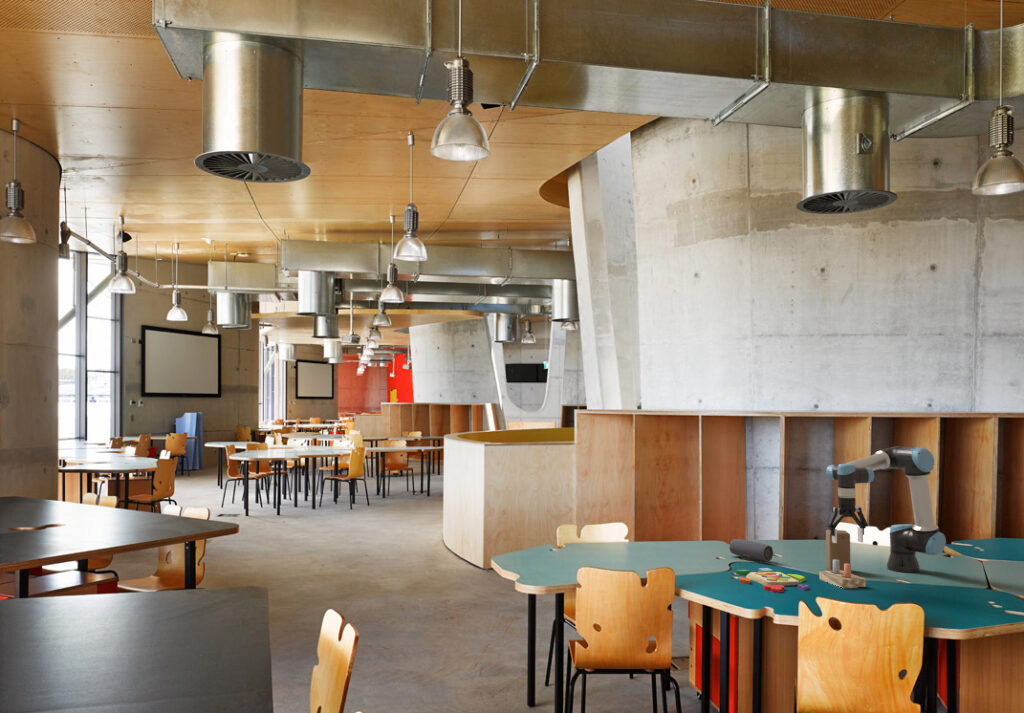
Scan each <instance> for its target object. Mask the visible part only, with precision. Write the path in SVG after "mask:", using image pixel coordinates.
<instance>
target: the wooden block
mask: <svg viewBox="0 0 1024 713" xmlns="http://www.w3.org/2000/svg"><path fill="white" fill-rule="evenodd" d="M833 560H839V566H840V570H842V571H844V564H851V534H850V533H849V532H848V531H847V530H844V529H843V530H842V529H841V530H840V529H839V530H838V529H837V543H833V542H832V535H831V529H826V530H825V564H826V565H825V566H826V569H827V571H833Z"/></svg>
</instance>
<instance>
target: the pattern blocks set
mask: <svg viewBox="0 0 1024 713" xmlns="http://www.w3.org/2000/svg"><path fill="white" fill-rule="evenodd" d="M735 574H736V575H741V576H739V578H738V579H739V583H740V584H744V585H751V581H754V582H756V583H759V584H761V585H763V586H762V589H763V590H764V591H769V592H772V593H775V594H779V593H783V592H784V591H785V587H786V586H787V587H788V586H797V587H796V588H797V589H799V590H801V591H806V590H810V585H807V584H799V583H803V582H806V577H805V576H803V575H800V574H794V573H793V574H792V573H786V574H785V573H783V572H781V571H774V570H773V569H771V568H769V567H761V568H760V567H759V568H758V571H751V570H749V569H737V570H736V571H735ZM742 575H743V576H742ZM744 575H746V576H745V577H744Z"/></svg>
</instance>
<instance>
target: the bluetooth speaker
mask: <svg viewBox="0 0 1024 713" xmlns="http://www.w3.org/2000/svg"><path fill="white" fill-rule="evenodd" d="M728 549H729V551H730V553H731V554H733V555H736V556H739V557H741V558H742V559H744V560H748V561H752V562H761V561H763V562H769V561H771V560H772V558H773V557H774V549H773V547H772V546H771V545H768V544H766V543H761V542H757V541H753V540H747V539H741V538H733V539H732V540H730V543H729V547H728Z"/></svg>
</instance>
